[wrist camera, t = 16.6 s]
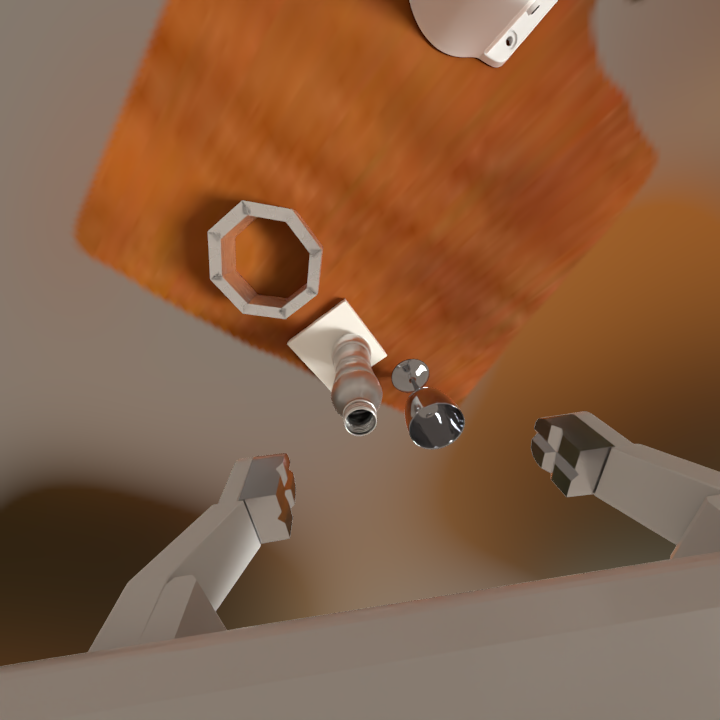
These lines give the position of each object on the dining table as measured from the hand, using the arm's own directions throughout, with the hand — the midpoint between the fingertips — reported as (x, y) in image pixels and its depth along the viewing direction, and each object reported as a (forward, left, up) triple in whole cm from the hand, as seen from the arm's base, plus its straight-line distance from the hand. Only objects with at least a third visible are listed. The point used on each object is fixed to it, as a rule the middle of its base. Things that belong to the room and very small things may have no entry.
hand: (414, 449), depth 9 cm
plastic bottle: (+7, +10, -38) cm, 40 cm away
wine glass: (+2, +22, -39) cm, 45 cm away
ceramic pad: (+9, +9, -39) cm, 41 cm away
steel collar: (+8, -8, -39) cm, 41 cm away
